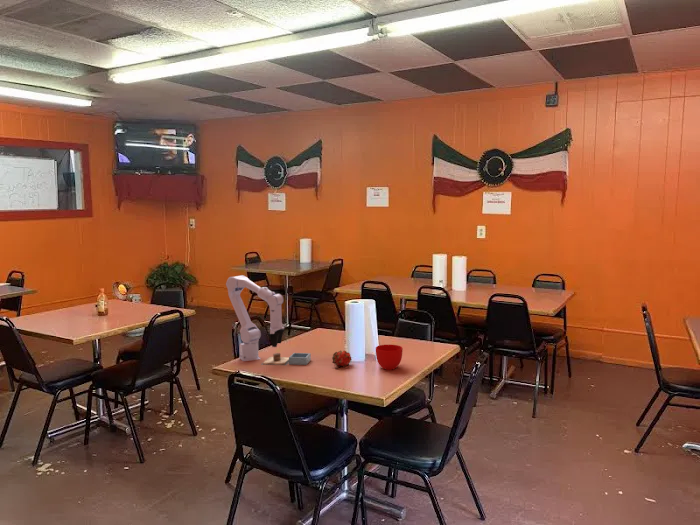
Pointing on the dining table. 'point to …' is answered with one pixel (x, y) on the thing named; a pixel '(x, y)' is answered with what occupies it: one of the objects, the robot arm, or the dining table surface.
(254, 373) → the dining table surface
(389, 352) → the ceramic cup
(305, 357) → the dish
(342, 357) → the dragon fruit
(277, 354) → the lid
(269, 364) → the mat
